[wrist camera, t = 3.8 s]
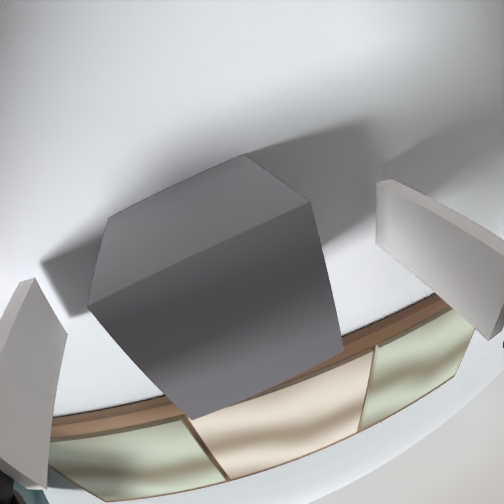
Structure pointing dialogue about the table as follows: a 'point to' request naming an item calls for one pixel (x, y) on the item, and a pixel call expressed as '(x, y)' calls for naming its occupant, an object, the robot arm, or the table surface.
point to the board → (263, 413)
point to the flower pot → (31, 494)
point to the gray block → (217, 287)
